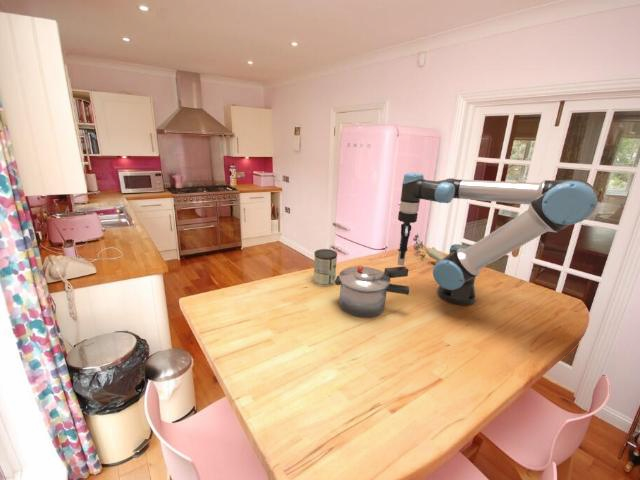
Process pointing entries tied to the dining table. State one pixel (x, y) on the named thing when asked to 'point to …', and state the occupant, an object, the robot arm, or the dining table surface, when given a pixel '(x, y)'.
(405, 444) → the dining table surface
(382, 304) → the pot
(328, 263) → the coffee can
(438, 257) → the flower vase
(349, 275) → the lid
